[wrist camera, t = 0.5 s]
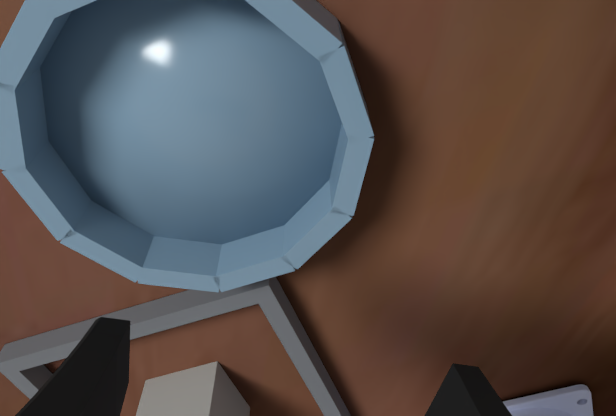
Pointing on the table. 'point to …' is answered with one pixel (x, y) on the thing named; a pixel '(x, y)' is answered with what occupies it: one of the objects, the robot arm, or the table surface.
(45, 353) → the tray
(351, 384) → the table surface
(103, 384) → the robot arm
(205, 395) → the stone block
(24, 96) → the bowl
